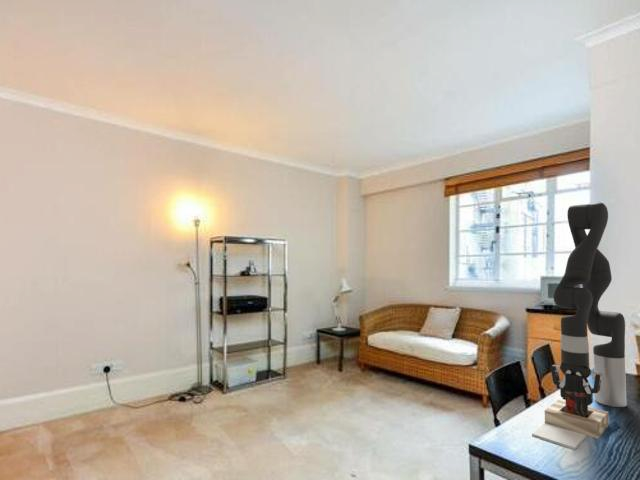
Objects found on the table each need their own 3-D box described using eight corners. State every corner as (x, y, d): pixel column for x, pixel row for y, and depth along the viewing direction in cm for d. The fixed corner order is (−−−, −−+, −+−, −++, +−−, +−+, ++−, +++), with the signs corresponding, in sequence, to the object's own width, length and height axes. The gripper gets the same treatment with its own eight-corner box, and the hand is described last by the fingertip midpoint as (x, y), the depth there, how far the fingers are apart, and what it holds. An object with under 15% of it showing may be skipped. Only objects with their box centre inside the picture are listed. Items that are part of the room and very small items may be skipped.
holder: (559, 411, 130) (558, 399, 131) (609, 424, 120) (608, 411, 120) (544, 422, 121) (544, 410, 121) (597, 438, 111) (597, 424, 111)
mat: (545, 424, 120) (544, 422, 120) (586, 437, 112) (586, 435, 112) (532, 435, 112) (532, 433, 112) (575, 449, 104) (575, 447, 104)
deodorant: (592, 425, 117) (590, 377, 118) (570, 424, 118) (569, 375, 119) (582, 417, 123) (581, 371, 124) (562, 416, 124) (561, 370, 125)
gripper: (604, 351, 119) (606, 405, 118) (553, 343, 130) (555, 393, 129) (598, 355, 114) (600, 412, 113) (545, 347, 125) (547, 398, 124)
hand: (576, 401), depth 121 cm, fingers closed on deodorant, 6 cm apart
